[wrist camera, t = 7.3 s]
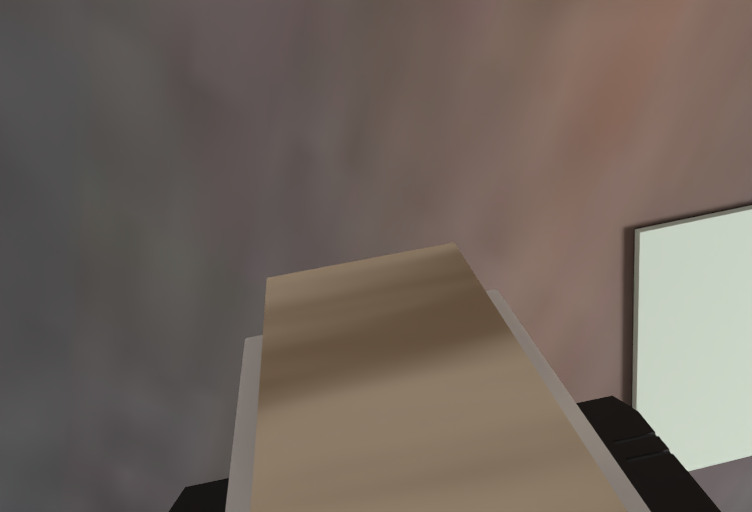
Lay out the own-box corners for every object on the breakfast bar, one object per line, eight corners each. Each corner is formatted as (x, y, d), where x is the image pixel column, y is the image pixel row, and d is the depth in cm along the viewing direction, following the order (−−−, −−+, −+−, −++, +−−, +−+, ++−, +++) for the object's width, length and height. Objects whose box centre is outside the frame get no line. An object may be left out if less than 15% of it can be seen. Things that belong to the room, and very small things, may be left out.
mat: (634, 229, 27) (639, 232, 27) (866, 181, 28) (874, 183, 28) (630, 478, 33) (635, 484, 33) (824, 431, 34) (830, 436, 34)
